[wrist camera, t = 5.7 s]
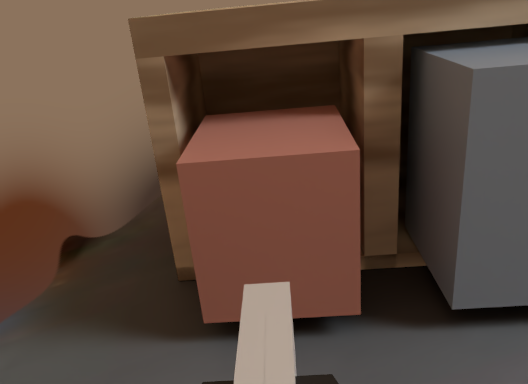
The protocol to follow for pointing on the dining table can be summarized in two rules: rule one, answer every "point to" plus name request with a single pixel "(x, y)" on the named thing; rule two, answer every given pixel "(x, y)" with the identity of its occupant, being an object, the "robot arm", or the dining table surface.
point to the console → (306, 87)
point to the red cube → (274, 210)
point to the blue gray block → (470, 169)
